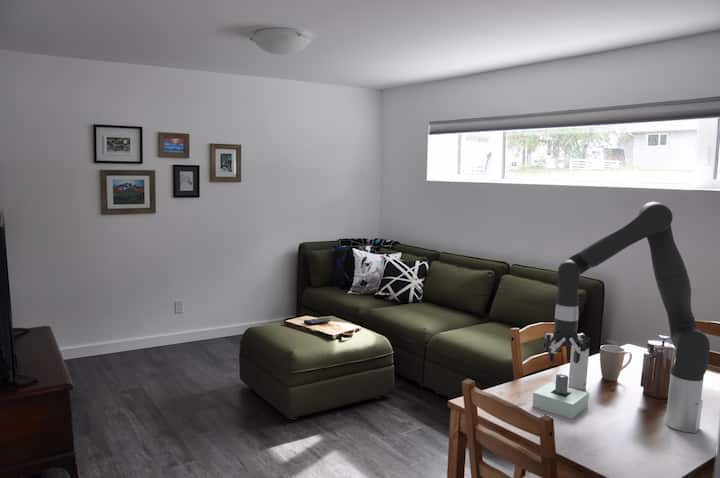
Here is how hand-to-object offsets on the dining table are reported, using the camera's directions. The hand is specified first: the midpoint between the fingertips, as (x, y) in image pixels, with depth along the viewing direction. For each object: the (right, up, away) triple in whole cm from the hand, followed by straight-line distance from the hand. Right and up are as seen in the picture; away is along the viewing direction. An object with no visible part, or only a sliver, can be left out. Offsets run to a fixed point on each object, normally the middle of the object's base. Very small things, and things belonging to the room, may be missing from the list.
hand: (563, 362), depth 193 cm
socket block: (-1, -16, +2) cm, 16 cm away
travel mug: (+12, -14, +19) cm, 27 cm away
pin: (-1, -15, +2) cm, 15 cm away
